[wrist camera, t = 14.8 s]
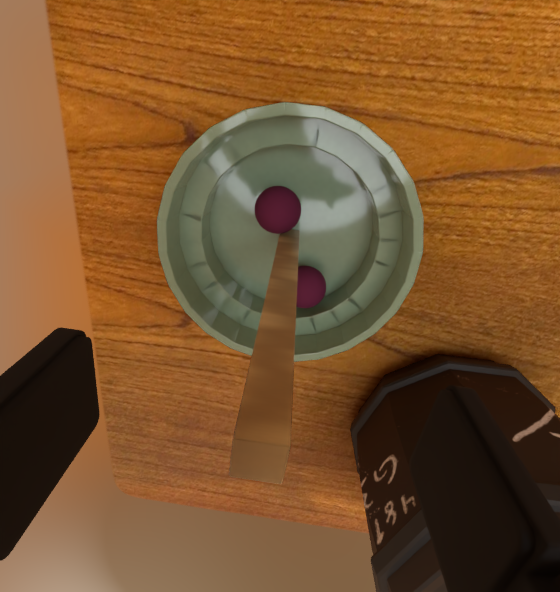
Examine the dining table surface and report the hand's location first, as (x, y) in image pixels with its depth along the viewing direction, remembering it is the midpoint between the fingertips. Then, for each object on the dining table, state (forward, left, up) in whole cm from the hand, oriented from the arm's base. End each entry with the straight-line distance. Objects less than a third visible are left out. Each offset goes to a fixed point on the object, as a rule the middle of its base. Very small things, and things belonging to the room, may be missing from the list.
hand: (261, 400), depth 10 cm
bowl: (0, 0, -20) cm, 20 cm away
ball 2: (+4, -2, -17) cm, 18 cm away
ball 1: (-2, 0, -17) cm, 17 cm away
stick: (+1, 0, -9) cm, 9 cm away
